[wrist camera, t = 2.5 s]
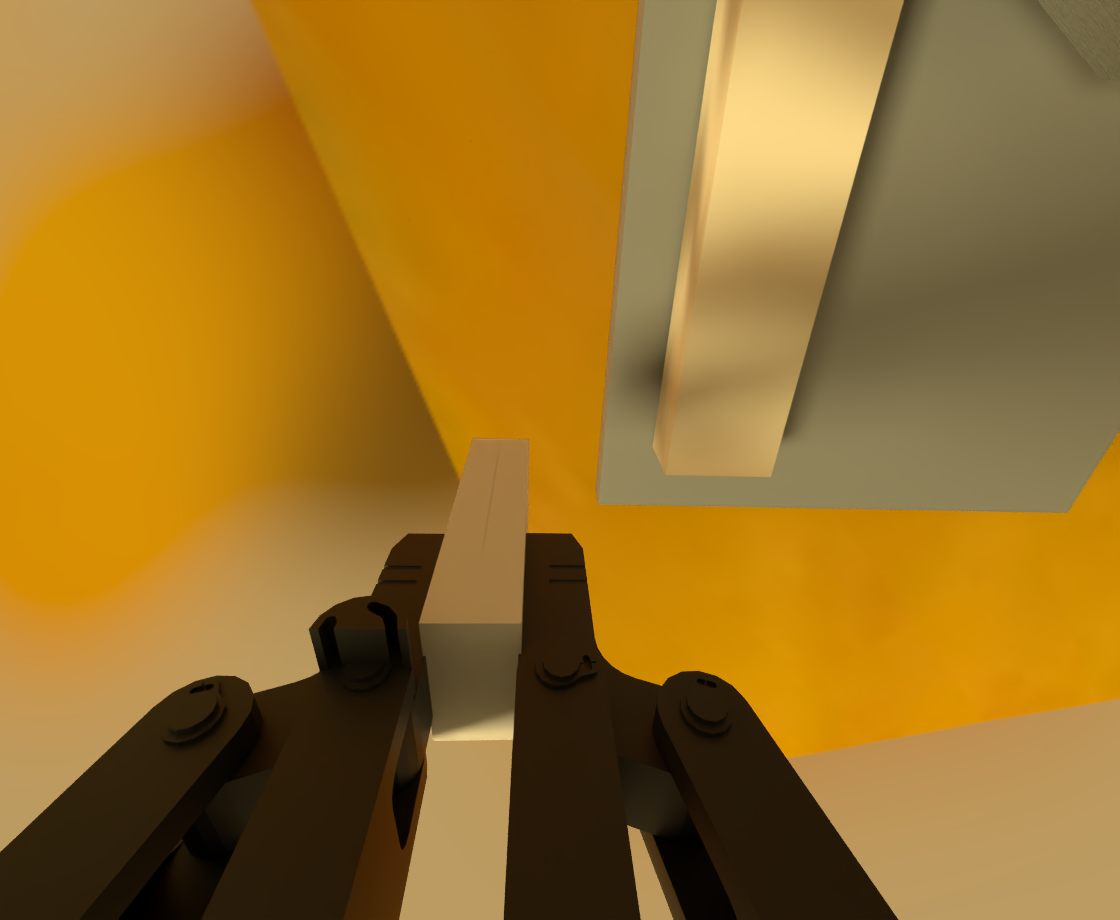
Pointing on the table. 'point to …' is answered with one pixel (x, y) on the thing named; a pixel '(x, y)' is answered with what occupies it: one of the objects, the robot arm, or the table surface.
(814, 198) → the link
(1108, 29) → the beige block
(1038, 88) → the base plate
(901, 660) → the table surface
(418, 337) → the table surface
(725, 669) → the table surface
